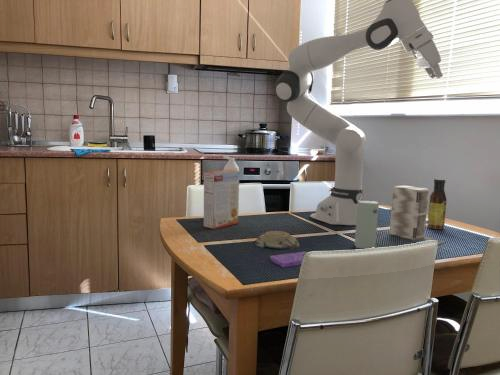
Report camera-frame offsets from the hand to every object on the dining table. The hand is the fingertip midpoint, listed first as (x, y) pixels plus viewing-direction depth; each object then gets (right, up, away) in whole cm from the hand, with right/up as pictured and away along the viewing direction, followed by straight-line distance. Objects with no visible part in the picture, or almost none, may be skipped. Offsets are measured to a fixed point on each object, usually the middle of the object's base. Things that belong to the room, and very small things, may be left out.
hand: (436, 77), depth 143 cm
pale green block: (-25, -56, -1) cm, 62 cm away
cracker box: (-74, -51, +21) cm, 92 cm away
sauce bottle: (+12, -53, +29) cm, 62 cm away
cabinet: (-3, -55, +12) cm, 56 cm away
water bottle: (-72, -49, +37) cm, 94 cm away
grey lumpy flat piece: (-54, -56, -1) cm, 77 cm away
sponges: (-50, -59, -19) cm, 79 cm away
